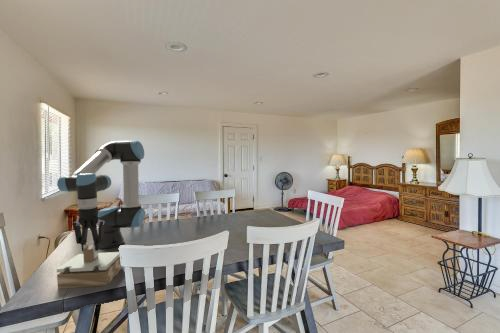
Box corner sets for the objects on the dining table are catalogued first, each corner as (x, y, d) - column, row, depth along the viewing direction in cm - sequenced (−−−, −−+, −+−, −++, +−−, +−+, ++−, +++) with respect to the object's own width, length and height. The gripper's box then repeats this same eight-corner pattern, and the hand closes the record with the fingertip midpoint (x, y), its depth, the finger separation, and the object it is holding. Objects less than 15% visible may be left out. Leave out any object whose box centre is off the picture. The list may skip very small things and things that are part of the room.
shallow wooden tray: (79, 270, 125) (78, 253, 124) (122, 268, 126) (121, 251, 126) (57, 288, 109) (56, 269, 108) (106, 285, 111) (105, 266, 110)
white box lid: (78, 256, 124) (77, 241, 124) (121, 254, 126) (120, 239, 125) (56, 272, 108) (55, 255, 108) (105, 270, 110) (104, 253, 110)
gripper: (63, 210, 111) (67, 262, 113) (102, 208, 112) (105, 260, 114) (74, 206, 118) (77, 255, 120) (110, 205, 120) (113, 253, 121)
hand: (91, 257), depth 117 cm, fingers closed on white box lid, 3 cm apart
